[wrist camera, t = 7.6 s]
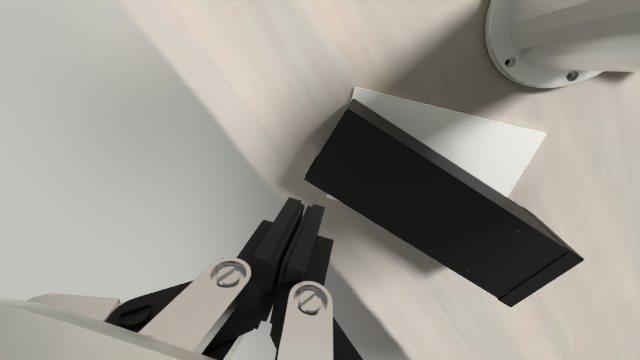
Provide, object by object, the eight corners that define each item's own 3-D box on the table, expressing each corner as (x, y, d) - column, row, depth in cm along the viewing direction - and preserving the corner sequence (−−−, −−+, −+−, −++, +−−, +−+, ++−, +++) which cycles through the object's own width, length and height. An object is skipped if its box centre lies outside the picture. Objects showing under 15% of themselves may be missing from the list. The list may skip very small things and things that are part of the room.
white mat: (543, 132, 26) (547, 133, 26) (478, 238, 32) (480, 240, 32) (354, 86, 27) (354, 86, 27) (326, 195, 34) (326, 197, 33)
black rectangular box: (352, 96, 28) (555, 227, 29) (317, 154, 31) (500, 268, 33) (346, 106, 20) (614, 278, 22) (301, 179, 24) (536, 323, 26)
